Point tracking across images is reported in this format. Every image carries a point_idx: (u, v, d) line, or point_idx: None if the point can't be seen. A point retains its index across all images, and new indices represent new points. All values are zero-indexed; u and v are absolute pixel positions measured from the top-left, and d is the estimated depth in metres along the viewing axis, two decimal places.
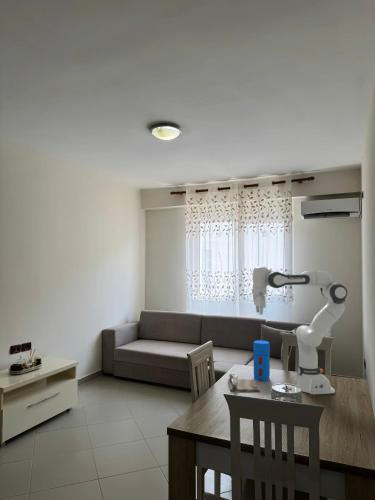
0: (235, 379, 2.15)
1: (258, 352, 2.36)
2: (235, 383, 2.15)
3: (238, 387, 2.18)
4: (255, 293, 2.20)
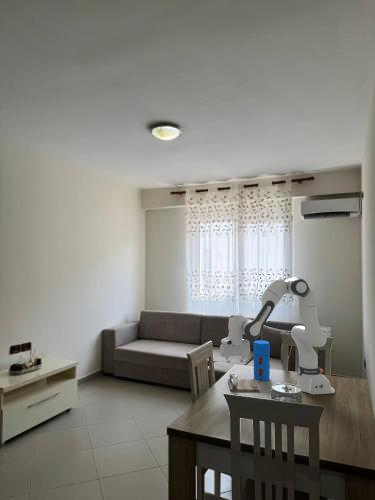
0: (235, 379, 2.15)
1: (258, 352, 2.36)
2: (235, 383, 2.15)
3: (238, 387, 2.18)
4: (242, 342, 2.16)
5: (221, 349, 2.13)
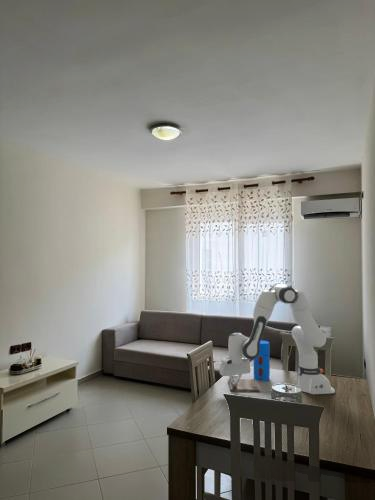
0: (235, 379, 2.15)
1: None
2: (235, 383, 2.15)
3: (238, 387, 2.18)
4: (242, 361, 2.15)
5: (221, 368, 2.13)
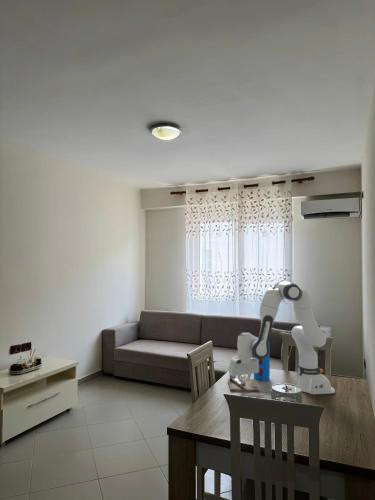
0: (244, 379, 2.16)
1: None
2: (244, 383, 2.16)
3: (238, 387, 2.18)
4: (251, 361, 2.16)
5: (231, 368, 2.13)
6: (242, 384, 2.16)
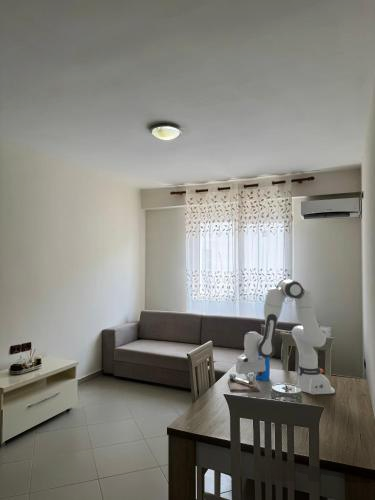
0: (252, 377, 2.20)
1: (258, 352, 2.36)
2: (252, 381, 2.19)
3: (238, 387, 2.18)
4: (257, 359, 2.19)
5: (238, 366, 2.17)
6: (251, 382, 2.19)
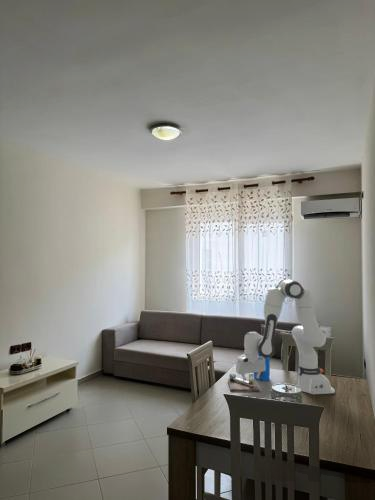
0: (252, 377, 2.20)
1: (258, 352, 2.36)
2: (252, 381, 2.20)
3: (238, 387, 2.18)
4: (257, 359, 2.19)
5: (238, 366, 2.17)
6: (251, 382, 2.19)
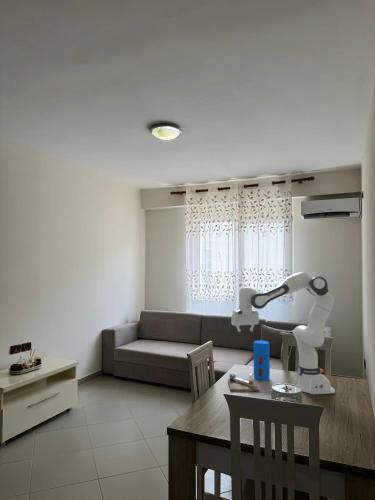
0: (252, 377, 2.20)
1: (258, 352, 2.36)
2: (252, 381, 2.20)
3: (238, 387, 2.18)
4: (251, 312, 2.35)
5: (233, 318, 2.33)
6: (251, 382, 2.19)
